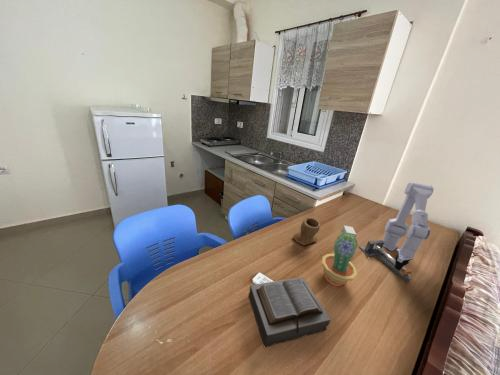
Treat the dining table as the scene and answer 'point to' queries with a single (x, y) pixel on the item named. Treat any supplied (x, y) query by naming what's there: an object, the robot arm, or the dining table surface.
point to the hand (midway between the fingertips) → (398, 267)
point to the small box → (348, 230)
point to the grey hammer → (382, 257)
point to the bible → (286, 310)
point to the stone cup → (308, 231)
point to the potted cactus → (341, 260)
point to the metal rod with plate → (393, 261)
